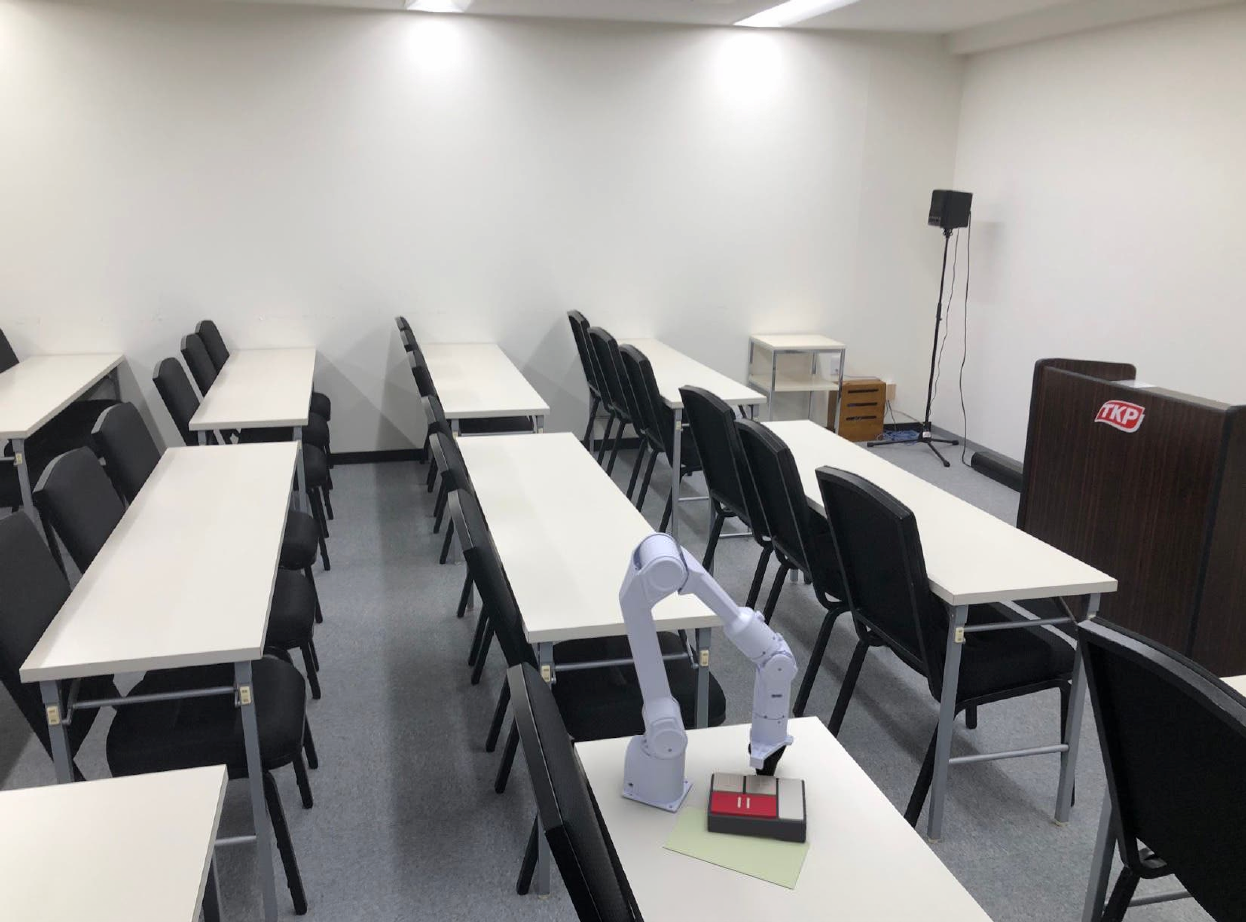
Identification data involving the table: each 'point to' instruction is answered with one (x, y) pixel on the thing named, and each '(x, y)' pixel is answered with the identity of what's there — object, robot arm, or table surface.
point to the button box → (757, 806)
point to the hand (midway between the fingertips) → (764, 781)
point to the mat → (738, 849)
